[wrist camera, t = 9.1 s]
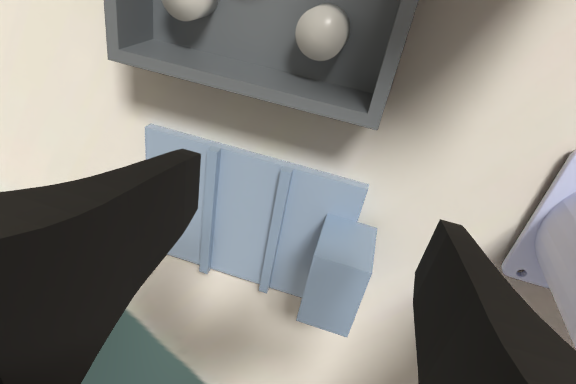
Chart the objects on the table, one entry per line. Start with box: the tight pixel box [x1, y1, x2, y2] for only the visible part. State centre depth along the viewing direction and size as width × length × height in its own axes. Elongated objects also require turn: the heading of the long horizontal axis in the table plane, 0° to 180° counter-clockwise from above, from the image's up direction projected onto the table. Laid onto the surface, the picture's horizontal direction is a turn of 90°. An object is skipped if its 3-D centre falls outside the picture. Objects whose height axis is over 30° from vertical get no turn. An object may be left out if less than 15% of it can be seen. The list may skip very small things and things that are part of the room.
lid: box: [145, 124, 377, 337], centre depth 24 cm, size 15×10×5 cm, turn 79°
